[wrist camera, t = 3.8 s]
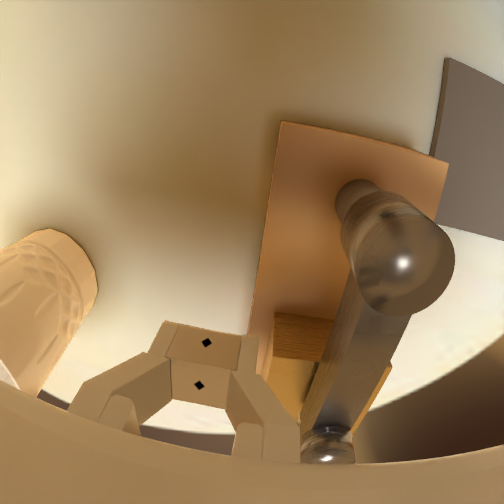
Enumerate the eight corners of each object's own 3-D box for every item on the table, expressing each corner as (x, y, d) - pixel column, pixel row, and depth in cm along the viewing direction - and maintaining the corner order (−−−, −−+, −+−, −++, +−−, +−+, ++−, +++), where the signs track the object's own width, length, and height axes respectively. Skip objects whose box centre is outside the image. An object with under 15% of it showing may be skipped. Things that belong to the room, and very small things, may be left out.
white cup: (84, 210, 18) (-34, 296, 9) (121, 319, 21) (53, 431, 12) (7, 228, 19) (-89, 297, 10) (44, 318, 22) (-25, 403, 13)
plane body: (280, 120, 15) (281, 127, 9) (413, 149, 15) (485, 179, 9) (241, 367, 22) (229, 449, 15) (339, 379, 21) (350, 458, 15)
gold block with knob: (274, 311, 15) (271, 371, 11) (377, 324, 14) (396, 381, 11) (253, 405, 18) (247, 459, 14) (335, 412, 17) (341, 464, 14)
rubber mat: (444, 58, 12) (449, 57, 12) (549, 115, 12) (555, 117, 12) (414, 215, 16) (418, 219, 16) (519, 243, 16) (524, 246, 15)
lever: (351, 182, 9) (387, 224, 6) (427, 200, 9) (487, 246, 6) (287, 407, 13) (286, 474, 10) (343, 411, 13) (351, 475, 10)
